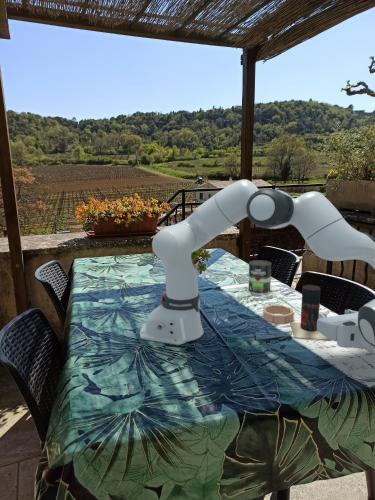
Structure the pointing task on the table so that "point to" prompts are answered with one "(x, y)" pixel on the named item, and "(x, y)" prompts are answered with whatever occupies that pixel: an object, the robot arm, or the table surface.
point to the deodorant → (310, 307)
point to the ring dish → (278, 318)
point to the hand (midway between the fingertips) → (333, 313)
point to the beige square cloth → (305, 333)
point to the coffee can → (259, 277)
